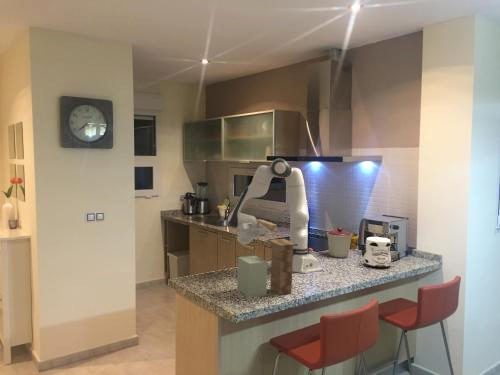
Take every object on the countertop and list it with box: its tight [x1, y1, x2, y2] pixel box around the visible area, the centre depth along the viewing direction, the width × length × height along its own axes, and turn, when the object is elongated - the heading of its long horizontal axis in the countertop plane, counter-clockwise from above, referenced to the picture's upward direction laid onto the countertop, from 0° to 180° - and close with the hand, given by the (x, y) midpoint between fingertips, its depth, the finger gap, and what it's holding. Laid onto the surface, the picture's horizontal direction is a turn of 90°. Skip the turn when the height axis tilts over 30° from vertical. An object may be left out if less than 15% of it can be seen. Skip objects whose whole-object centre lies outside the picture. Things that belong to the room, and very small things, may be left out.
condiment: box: [349, 232, 359, 250], centre depth 331 cm, size 7×8×12 cm
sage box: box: [236, 255, 268, 298], centre depth 216 cm, size 10×14×17 cm
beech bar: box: [256, 218, 278, 233], centre depth 235 cm, size 3×20×4 cm, turn 25°
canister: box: [326, 226, 352, 259], centre depth 303 cm, size 18×18×21 cm
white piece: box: [363, 236, 392, 269], centre depth 278 cm, size 17×17×18 cm
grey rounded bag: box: [390, 251, 401, 262], centre depth 300 cm, size 15×8×20 cm
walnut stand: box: [267, 238, 297, 296], centre depth 219 cm, size 10×14×26 cm
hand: (261, 222), depth 240 cm, fingers closed on beech bar, 3 cm apart
